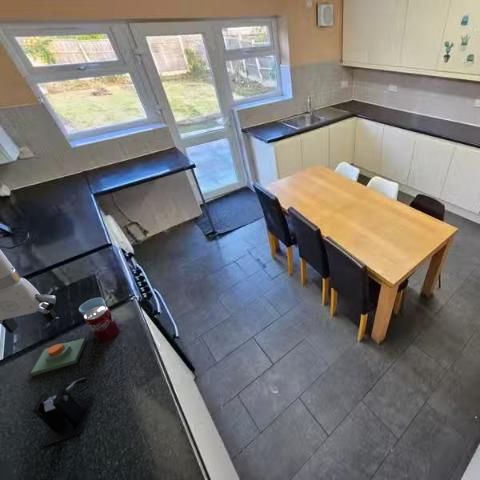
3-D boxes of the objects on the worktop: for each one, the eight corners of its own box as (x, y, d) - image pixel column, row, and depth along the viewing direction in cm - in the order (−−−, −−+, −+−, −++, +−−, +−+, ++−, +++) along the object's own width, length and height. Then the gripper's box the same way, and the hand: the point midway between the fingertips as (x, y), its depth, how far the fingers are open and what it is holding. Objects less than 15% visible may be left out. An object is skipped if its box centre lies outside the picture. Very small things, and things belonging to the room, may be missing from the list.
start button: (48, 357, 90) (45, 354, 89) (53, 349, 93) (50, 346, 92) (61, 354, 91) (58, 350, 90) (65, 345, 94) (63, 342, 93)
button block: (34, 377, 88) (26, 369, 86) (47, 353, 96) (41, 345, 94) (78, 364, 91) (72, 356, 89) (87, 341, 99) (82, 334, 97)
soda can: (107, 328, 105) (93, 305, 99) (125, 328, 104) (112, 305, 98) (93, 343, 99) (77, 320, 93) (112, 343, 98) (97, 320, 92)
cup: (86, 330, 104) (73, 310, 99) (102, 316, 111) (91, 296, 105) (103, 332, 103) (91, 312, 98) (119, 317, 110) (108, 298, 104)
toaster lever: (69, 388, 80) (67, 380, 80) (87, 382, 82) (85, 375, 82) (39, 413, 68) (36, 404, 68) (61, 406, 69) (58, 397, 69)
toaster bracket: (61, 411, 78) (38, 387, 72) (94, 400, 80) (74, 376, 74) (45, 448, 70) (18, 425, 64) (82, 435, 72) (59, 411, 66)
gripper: (-53, 297, 69) (-10, 342, 78) (31, 281, 74) (63, 325, 83) (-32, 280, 75) (5, 324, 84) (45, 266, 80) (72, 309, 89)
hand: (34, 324), depth 83 cm, fingers open, 9 cm apart
